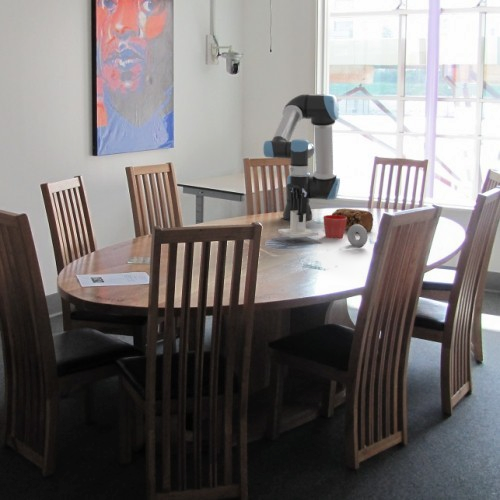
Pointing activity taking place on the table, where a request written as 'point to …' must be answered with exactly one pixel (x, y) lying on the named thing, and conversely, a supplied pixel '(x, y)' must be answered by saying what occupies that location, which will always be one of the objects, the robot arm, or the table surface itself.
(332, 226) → the flower pot
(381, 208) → the table surface
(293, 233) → the lid
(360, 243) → the donut
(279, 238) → the mat
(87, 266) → the table surface
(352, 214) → the bread
